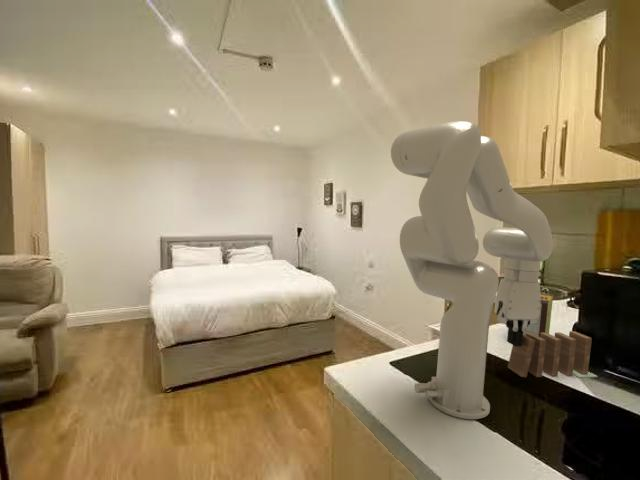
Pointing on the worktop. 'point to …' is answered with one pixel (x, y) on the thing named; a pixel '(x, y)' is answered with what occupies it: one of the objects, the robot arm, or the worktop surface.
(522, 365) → the domino
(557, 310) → the worktop surface
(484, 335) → the robot arm
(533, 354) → the domino
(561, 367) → the domino
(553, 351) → the domino
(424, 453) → the worktop surface
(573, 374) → the pad
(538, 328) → the protein box
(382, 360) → the worktop surface
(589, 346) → the domino
